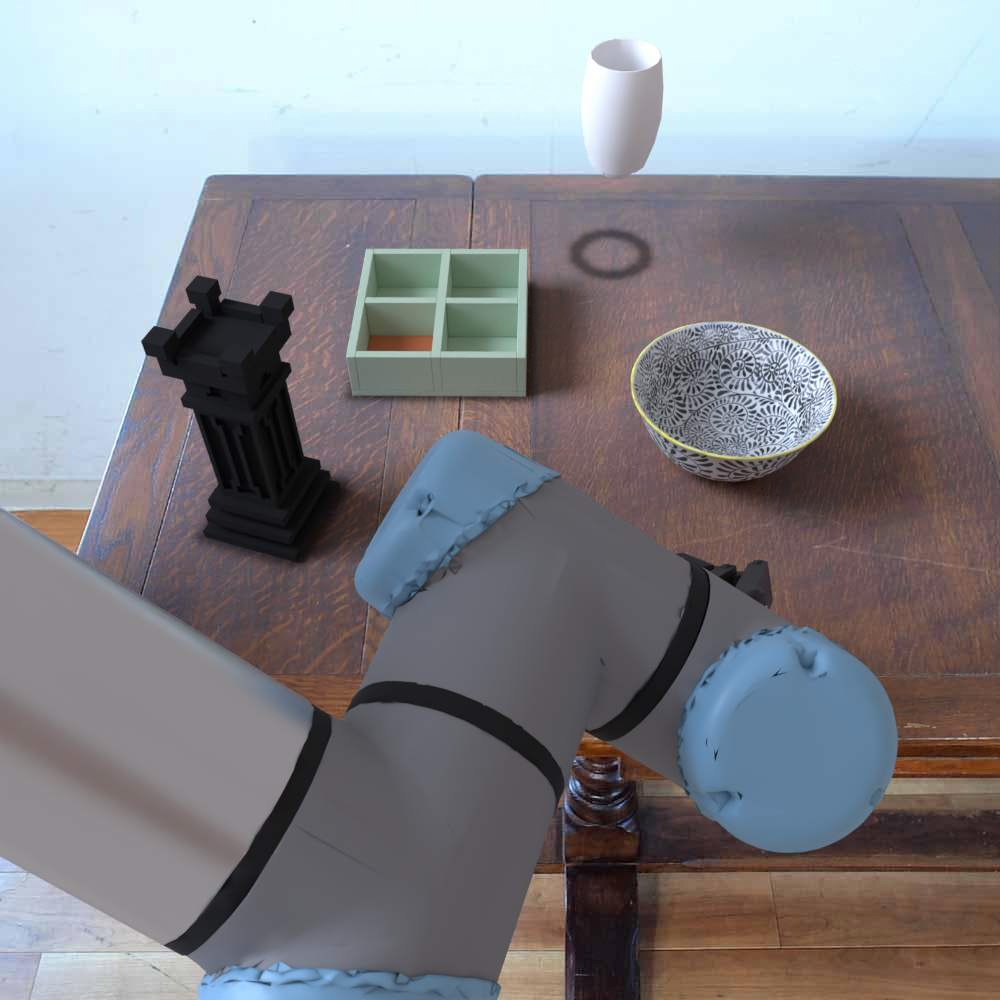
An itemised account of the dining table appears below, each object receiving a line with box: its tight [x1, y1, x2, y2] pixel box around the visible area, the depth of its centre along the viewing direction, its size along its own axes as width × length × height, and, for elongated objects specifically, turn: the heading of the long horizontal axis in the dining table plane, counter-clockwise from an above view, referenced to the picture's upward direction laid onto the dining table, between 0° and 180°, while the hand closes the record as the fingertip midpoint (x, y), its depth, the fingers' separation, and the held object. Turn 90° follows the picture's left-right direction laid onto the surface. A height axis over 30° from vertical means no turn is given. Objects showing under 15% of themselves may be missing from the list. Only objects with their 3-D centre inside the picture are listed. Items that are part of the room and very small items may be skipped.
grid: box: [345, 248, 529, 398], centre depth 95 cm, size 15×15×5 cm
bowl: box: [630, 320, 838, 482], centre depth 84 cm, size 16×16×8 cm
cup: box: [580, 37, 664, 180], centre depth 96 cm, size 7×7×21 cm
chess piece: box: [140, 274, 341, 563], centre depth 75 cm, size 8×8×20 cm
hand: (583, 589), depth 70 cm, fingers open, 13 cm apart
